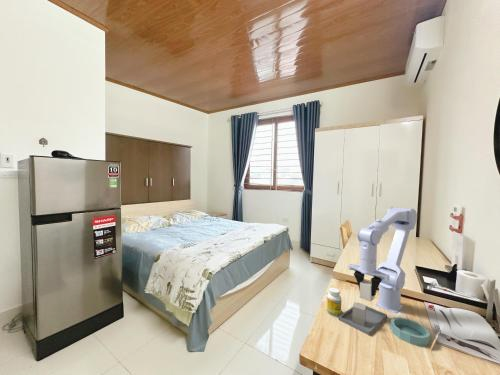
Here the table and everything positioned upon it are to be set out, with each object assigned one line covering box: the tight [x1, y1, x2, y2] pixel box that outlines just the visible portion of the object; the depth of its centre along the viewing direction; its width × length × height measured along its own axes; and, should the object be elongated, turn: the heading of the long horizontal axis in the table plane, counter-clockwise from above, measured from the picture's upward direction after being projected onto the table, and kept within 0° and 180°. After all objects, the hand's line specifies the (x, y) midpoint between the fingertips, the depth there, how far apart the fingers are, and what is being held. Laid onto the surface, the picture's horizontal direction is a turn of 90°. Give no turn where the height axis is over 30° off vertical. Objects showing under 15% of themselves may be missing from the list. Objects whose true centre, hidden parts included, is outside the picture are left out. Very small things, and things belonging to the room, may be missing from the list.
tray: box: [338, 302, 388, 336], centre depth 83 cm, size 17×11×2 cm, turn 130°
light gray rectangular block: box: [352, 301, 367, 326], centre depth 81 cm, size 4×4×6 cm
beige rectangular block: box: [359, 279, 376, 303], centre depth 85 cm, size 4×4×6 cm
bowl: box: [390, 317, 431, 347], centre depth 74 cm, size 11×11×3 cm
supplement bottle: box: [326, 287, 342, 318], centre depth 86 cm, size 5×5×10 cm
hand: (367, 292), depth 85 cm, fingers closed on beige rectangular block, 4 cm apart
